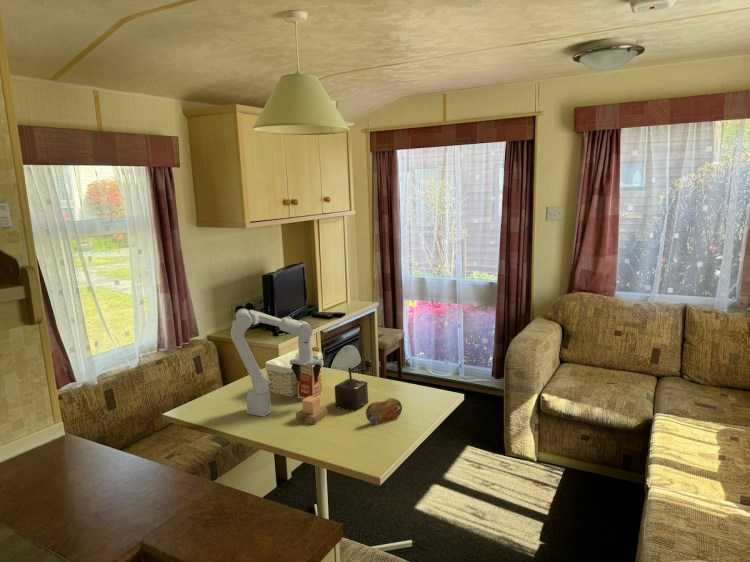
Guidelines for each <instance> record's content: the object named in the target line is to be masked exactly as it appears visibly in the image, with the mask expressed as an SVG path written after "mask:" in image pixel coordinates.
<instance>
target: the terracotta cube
mask: <svg viewBox="0 0 750 562" xmlns="http://www.w3.org/2000/svg"><path fill="white" fill-rule="evenodd" d="M320 407H321V398H320V396H319V397H313V396H308V397H307V398H305V399H302V409H303V412H304V413H309V414H314V413H316V412H317V411H319V410H320Z"/></svg>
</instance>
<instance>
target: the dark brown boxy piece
mask: <svg viewBox="0 0 750 562" xmlns="http://www.w3.org/2000/svg"><path fill="white" fill-rule="evenodd" d="M373 364H374V362H373V360H372V359H365V360H364V361H363V365H364V369H356V370H355V369H354V370H352V367H349V366H348V376H349V378H347V379H345V380H343V381H342V382H340V383H338V384H336V385H334V401H335V408H338V407H340V408H339V409H342V408H344V409H343V410H346V409H348V410H347V411H351V410H353V411H352V412H356V411H358V410H361V409H362V408H363V407H364V406H366V405H368V403H369V394H368V393H369V392H368V391H369V389H368V382H367V381H365V380H364V381H363V380H359V379H358V380H357V379H356V378H353V376H352V374H355V373H365V372H366V373H368V372H369V371H372V369H371V368H372V366H373ZM365 404H366V405H365ZM361 407H362V408H361Z"/></svg>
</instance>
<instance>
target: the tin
mask: <svg viewBox="0 0 750 562" xmlns="http://www.w3.org/2000/svg"><path fill="white" fill-rule="evenodd" d="M402 409H403V406H402V403H401V402H400V400H398V399H396V398H393V397H389V398H385V399H382V400H377V401H374V402H371V403H370V404H368V406H367V407H366V410H365V418H366V419H367V421H369V422H370V423H371V424H372V425H375V424H377V425H380V424H379V423H381V424H384V423H388V422H391V421H394V419H395V420H396V419H398V418H399V417H400V415H401V413H402V412H403V411H402ZM387 421H388V422H387ZM383 422H384V423H383Z"/></svg>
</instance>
